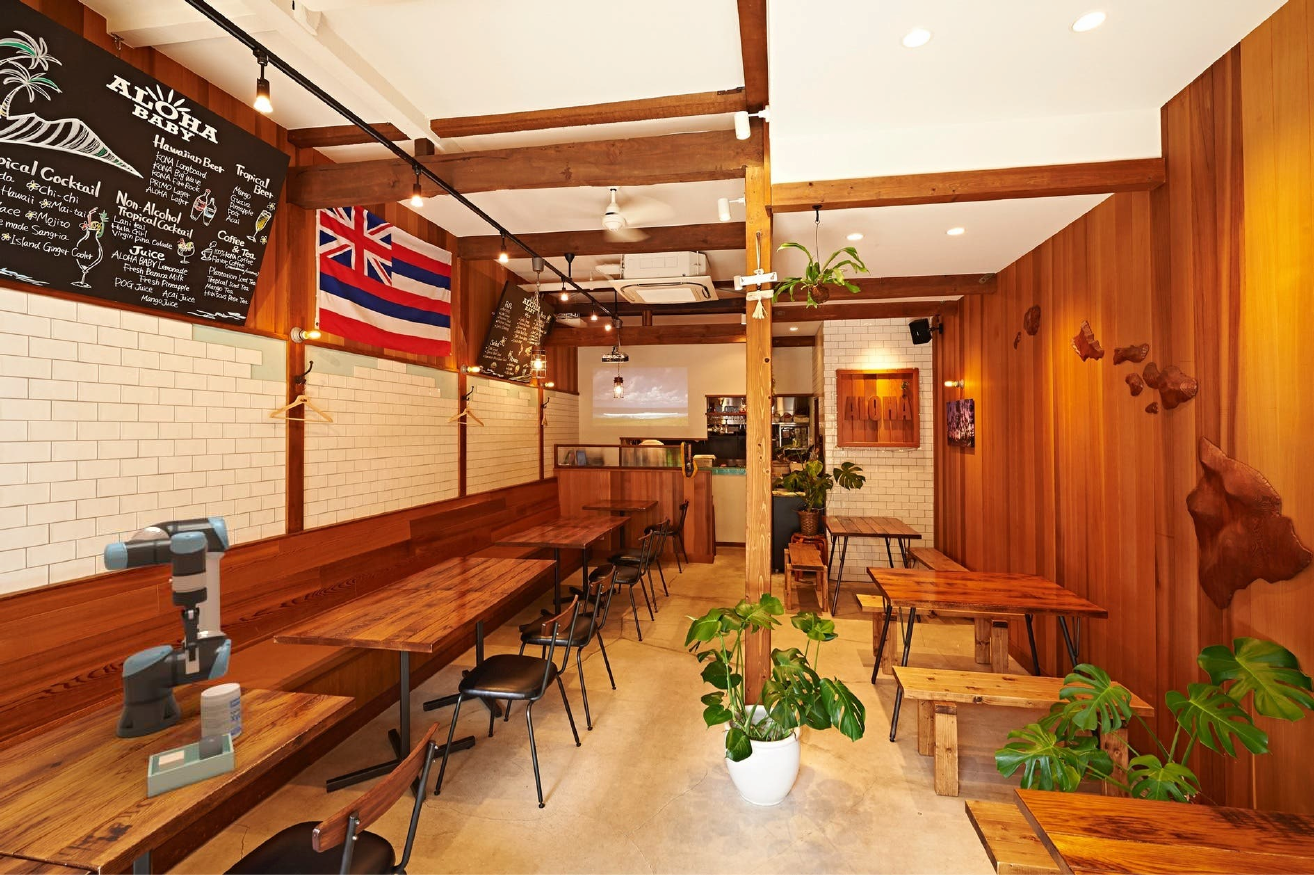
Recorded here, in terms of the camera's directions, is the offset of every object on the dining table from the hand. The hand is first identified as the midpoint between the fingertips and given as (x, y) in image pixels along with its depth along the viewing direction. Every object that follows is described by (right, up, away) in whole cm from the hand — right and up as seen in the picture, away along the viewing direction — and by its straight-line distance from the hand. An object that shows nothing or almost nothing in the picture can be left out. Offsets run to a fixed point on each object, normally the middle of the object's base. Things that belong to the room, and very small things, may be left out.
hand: (192, 665), depth 158 cm
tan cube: (+2, -26, -9) cm, 27 cm away
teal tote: (+5, -26, -6) cm, 27 cm away
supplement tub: (0, -27, +11) cm, 29 cm away
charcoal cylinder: (+8, -26, -4) cm, 27 cm away
